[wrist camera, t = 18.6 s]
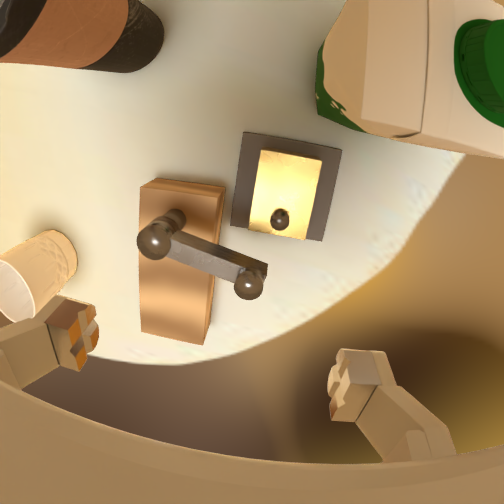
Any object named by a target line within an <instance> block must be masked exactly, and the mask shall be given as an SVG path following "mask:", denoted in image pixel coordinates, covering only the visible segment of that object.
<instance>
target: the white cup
mask: <svg viewBox="0 0 504 504" xmlns="http://www.w3.org/2000/svg"><path fill="white" fill-rule="evenodd" d="M77 264H78V263H77V256H76V252H75V250H74V248H73V246H72V244H71V242H70V241H69V240H68V239H67V238H66V237H65V236H64V235H63V234H62V233H60V232H57V231H55V230H49V231H44V232H42V233H41V234H39V235H37V236H35V237H32V238H30V239H28V240H26V241H25V242H23V243H21V244H19V245H17V246H15V247H14V248H12V249H10V250H8V251H7V252H5V253H3V254H2V255H0V311H1V312H2V313H3V314H4V315H5V316H6V317H7V318H9V319H10V320H11V321H13V322H15V323H16V322H18V321H21V320H24V319H27V318H31V319H32V318H33V317H34V316H35V315H36V314H37V313H38V312H39V311H40V310H41V309H42V308H43V307H44V306H45V305H46V304H47V303H48V302H49V301H50V300H51V299H52V298H53V297H54V296H55V295H56V294H57V293H58V292H59V291H60V290H61V289H62V288H63V286H64V284H65V283H66V282H67V281H68V280H69V279H70V278H71V277H72V276H73V275H74V274H75V271H76V268H77Z"/></svg>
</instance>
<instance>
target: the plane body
mask: <svg viewBox="0 0 504 504" xmlns="http://www.w3.org/2000/svg"><path fill="white" fill-rule="evenodd" d="M224 194H225V187H219V186H212V185H205V184H198V183H191V182H184V181H176V180H168V179H160V178H155V179H154V180H152V181H150V182H148V183H147V184H145V185H143V186H141V187H140V208H139V232H140V231H141V230H142V229H143V228H145V227H146V226H147V225H148V224H149V223H150V222H151V221H152V220H153V219H155V218H156V217H158V216H167V217H170V218H172V219H173V220H174V221H175V222H176V223H177V225H178V227H179V230H181V231H184V232H186V233H189V234H192V235H194V236H197V237H199V238H202V239H205V240H207V241H210V242H212V243H215V244H217V245H218V243H219V235H220V227H221V218H222V210H223V202H224ZM214 279H215V276H214V275H211V274H209V273H206V272H204V271H201V270H199V269H196V268H193V267H191V266H188V265H186V264H183V263H181V262H178V261H176V260H173V259H171V258H168V257H166V256H165V257H164V258H163V259H160V260H151V259H148V258H146V257H145V256H144V255H143V254H142V253H141V252H140V251H139V293H140V317H141V332H144V333H149V334H153V335H157V336H161V337H166V338H170V339H175V340H179V341H184V342H188V343H193V344H198V345H203V343H204V340H205V337H206V334H207V331H208V328H209V325H210V318H211V308H212V298H213V289H214Z"/></svg>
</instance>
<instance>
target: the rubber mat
mask: <svg viewBox="0 0 504 504" xmlns="http://www.w3.org/2000/svg"><path fill="white" fill-rule="evenodd" d="M263 146H264V147H269V148H275V149H281V150H286V151H292V152H297V153H302V154H307V155H312V156H317V157H319V158H320V159H321V161H322V164H321V169H320V174H319V178H318V183H317V188H316V193H315V197H314V202H313V207H312V211H311V216H310V220H309V225H308V229H307V233H306V238H305V239H311V240H316V241H322V239H323V235H324V231H325V227H326V223H327V218H328V214H329V210H330V205H331V201H332V196H333V192H334V187H335V183H336V178H337V173H338V169H339V164H340V159H341V154H342V150H340V149H336V148H331V147H326V146H321V145H317V144H312V143H307V142H301V141H296V140H291V139H285V138H279V137H273V136H267V135H261V134H254V133H248V132H243V138H242V144H241V151H240V158H239V165H238V172H237V179H236V186H235V193H234V201H233V208H232V215H231V223H230V226H236V227H242V228H248V227H249V221H250V215H251V209H252V203H253V196H254V190H255V184H256V178H257V172H258V166H259V159H260V153H261V149H262V147H263Z"/></svg>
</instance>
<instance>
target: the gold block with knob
mask: <svg viewBox="0 0 504 504" xmlns="http://www.w3.org/2000/svg"><path fill="white" fill-rule="evenodd" d="M321 164H322V161H321V159H320V158H319V157H317V156H312V155H307V154H302V153H297V152H292V151H286V150H281V149H275V148H269V147H264V146H263V147H262V149H261V153H260V159H259V166H258V172H257V178H256V184H255V190H254V196H253V203H252V209H251V215H250V221H249V227H248V230H252V231H257V232H263V233H269V234H274V235H280V236H285V237H291V238H296V239H302V240H305V238H306V233H307V229H308V225H309V220H310V216H311V211H312V207H313V202H314V197H315V193H316V188H317V183H318V178H319V174H320V169H321Z"/></svg>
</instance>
